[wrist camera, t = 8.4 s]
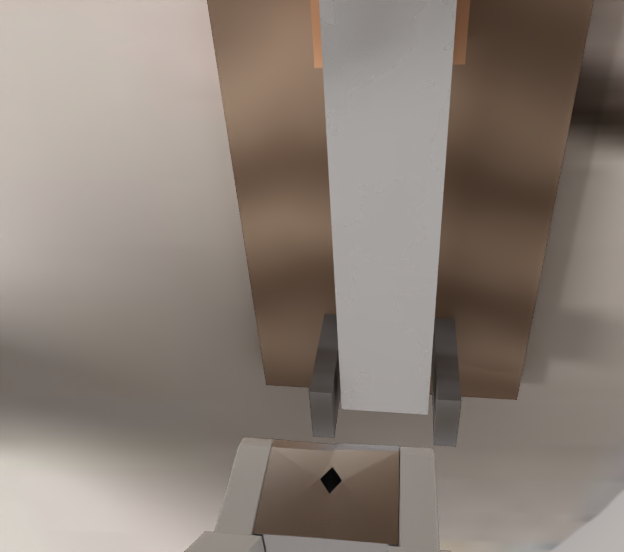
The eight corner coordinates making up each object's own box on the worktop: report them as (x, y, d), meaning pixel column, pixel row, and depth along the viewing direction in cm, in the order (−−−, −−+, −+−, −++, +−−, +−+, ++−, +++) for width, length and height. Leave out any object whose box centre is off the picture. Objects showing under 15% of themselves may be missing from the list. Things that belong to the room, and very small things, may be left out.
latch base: (513, 379, 34) (532, 486, 28) (271, 366, 36) (244, 463, 30) (620, -212, 19) (708, -237, 13) (193, -174, 21) (111, -181, 15)
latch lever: (427, 395, 28) (427, 414, 28) (344, 390, 29) (341, 409, 28) (456, -36, 18) (458, -29, 17) (323, -29, 18) (317, -22, 17)
